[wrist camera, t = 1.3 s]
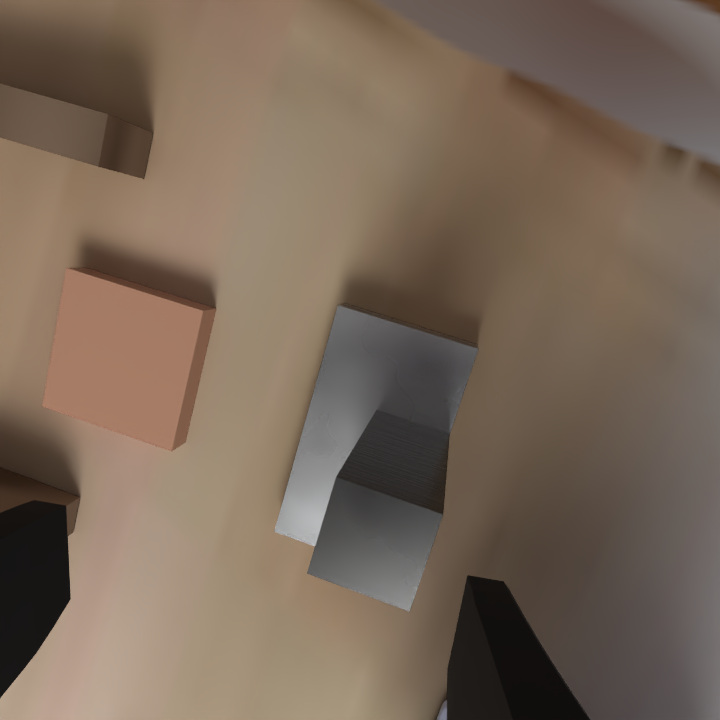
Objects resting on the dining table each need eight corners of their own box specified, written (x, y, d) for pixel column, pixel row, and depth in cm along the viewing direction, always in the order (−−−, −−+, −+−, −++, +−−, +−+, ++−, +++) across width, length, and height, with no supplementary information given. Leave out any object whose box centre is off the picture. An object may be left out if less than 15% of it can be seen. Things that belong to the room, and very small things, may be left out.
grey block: (477, 344, 18) (485, 390, 12) (404, 563, 20) (373, 715, 13) (344, 303, 19) (278, 324, 12) (283, 518, 21) (194, 644, 14)
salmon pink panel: (221, 307, 20) (202, 310, 19) (191, 438, 21) (171, 451, 20) (93, 267, 21) (66, 267, 19) (70, 396, 22) (41, 406, 20)
